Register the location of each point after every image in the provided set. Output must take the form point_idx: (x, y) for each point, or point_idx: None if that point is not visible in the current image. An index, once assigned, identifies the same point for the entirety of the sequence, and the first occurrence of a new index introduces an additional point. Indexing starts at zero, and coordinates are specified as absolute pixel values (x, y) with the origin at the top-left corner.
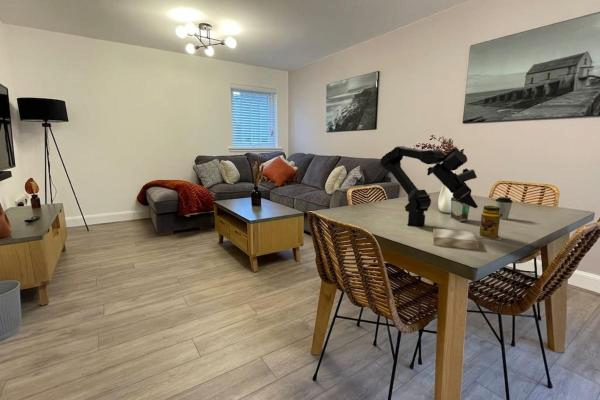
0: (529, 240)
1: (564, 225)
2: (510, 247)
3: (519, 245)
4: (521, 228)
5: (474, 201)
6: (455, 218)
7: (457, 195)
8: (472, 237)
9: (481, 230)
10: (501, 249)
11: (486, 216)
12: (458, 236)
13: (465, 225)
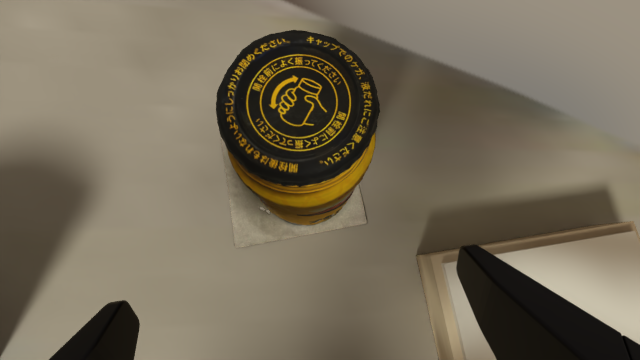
0: (274, 9)
1: None
2: (451, 90)
3: (391, 54)
4: (30, 20)
5: (577, 306)
6: None
7: None
8: (579, 258)
9: (334, 213)
10: (511, 126)
11: (367, 168)
12: None
13: (79, 321)
